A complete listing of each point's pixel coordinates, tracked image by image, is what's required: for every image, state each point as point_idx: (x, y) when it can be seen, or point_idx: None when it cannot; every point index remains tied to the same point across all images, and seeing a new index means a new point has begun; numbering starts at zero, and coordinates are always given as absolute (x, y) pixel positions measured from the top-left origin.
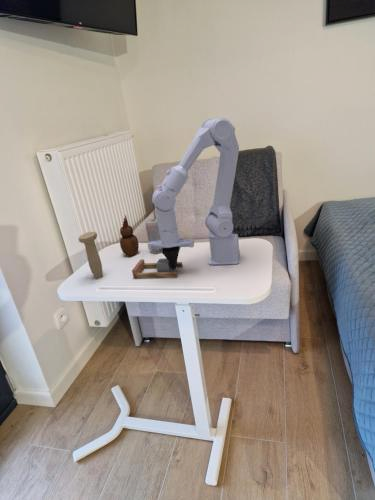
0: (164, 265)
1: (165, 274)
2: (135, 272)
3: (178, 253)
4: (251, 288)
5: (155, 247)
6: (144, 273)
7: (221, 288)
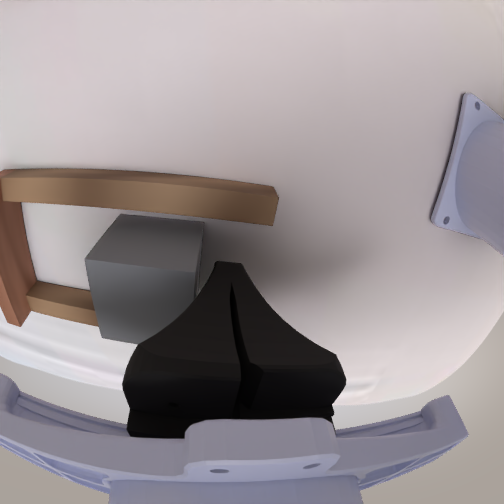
0: None
1: None
2: (24, 317)
3: (286, 327)
4: (445, 369)
5: (54, 417)
6: (60, 311)
7: (392, 379)
